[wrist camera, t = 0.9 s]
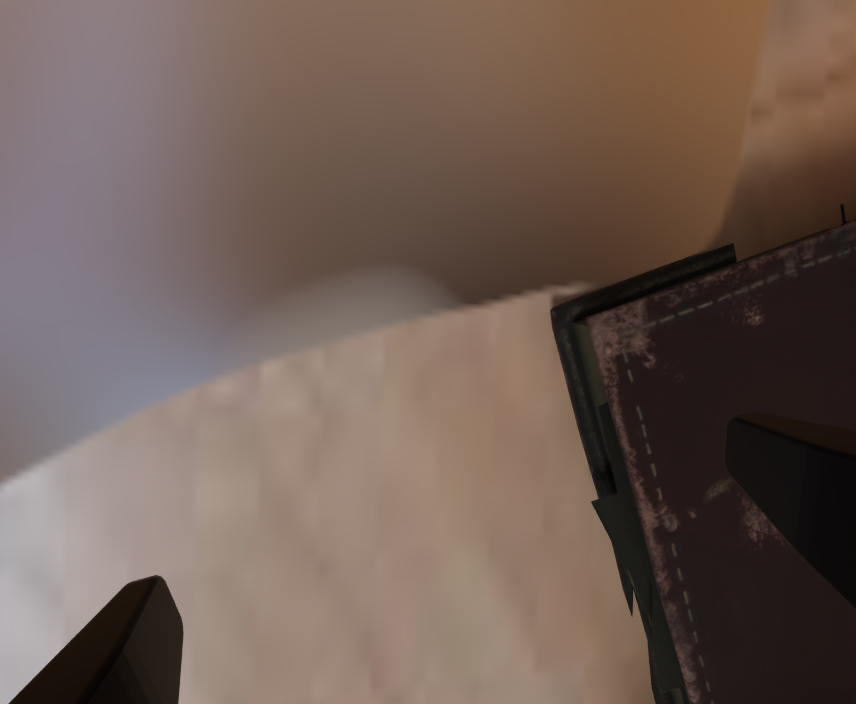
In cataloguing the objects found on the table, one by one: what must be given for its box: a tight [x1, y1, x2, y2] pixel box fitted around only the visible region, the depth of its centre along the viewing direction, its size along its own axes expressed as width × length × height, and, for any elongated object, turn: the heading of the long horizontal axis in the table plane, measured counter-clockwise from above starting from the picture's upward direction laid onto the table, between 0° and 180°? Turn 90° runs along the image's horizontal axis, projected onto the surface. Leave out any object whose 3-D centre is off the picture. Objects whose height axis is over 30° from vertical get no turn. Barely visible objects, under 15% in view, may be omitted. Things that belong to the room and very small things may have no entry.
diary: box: [550, 204, 856, 704], centre depth 25 cm, size 19×25×5 cm
